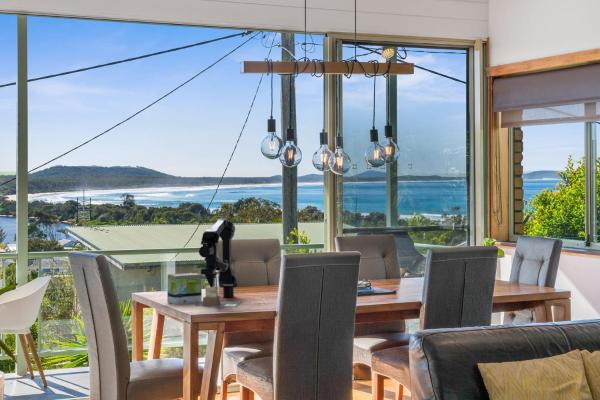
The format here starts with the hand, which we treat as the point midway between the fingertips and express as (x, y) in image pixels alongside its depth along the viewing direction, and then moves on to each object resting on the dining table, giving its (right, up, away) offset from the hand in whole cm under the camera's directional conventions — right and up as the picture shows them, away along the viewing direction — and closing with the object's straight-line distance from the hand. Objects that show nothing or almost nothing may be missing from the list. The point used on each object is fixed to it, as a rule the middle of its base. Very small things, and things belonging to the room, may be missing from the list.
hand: (211, 286), depth 423 cm
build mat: (+3, -10, +3) cm, 10 cm away
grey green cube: (0, -5, 0) cm, 5 cm away
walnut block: (0, -9, 0) cm, 9 cm away
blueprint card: (+10, -9, -2) cm, 13 cm away
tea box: (-15, -10, +13) cm, 22 cm away
